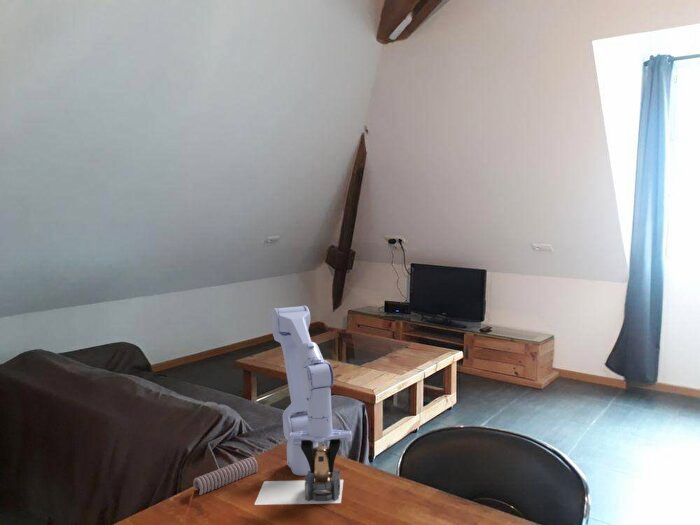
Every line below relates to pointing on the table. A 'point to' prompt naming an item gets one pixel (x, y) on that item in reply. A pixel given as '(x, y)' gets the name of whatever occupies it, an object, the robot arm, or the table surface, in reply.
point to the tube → (321, 464)
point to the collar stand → (322, 487)
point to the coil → (225, 475)
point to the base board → (289, 493)
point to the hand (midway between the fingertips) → (322, 470)
